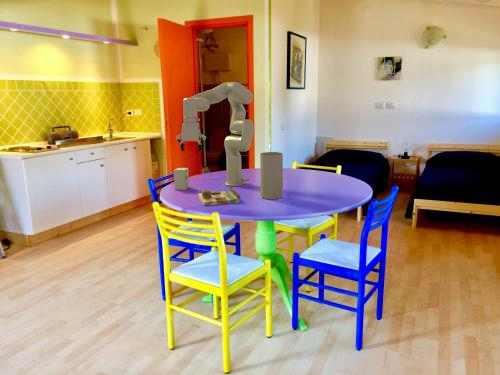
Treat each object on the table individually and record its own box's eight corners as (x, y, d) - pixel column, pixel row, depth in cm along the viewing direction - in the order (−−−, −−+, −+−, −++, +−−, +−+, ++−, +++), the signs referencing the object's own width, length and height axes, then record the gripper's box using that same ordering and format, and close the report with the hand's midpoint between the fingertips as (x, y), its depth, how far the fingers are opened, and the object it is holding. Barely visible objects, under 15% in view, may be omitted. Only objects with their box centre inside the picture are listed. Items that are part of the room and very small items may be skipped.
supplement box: (185, 190, 257) (184, 170, 254) (174, 189, 258) (173, 169, 255) (189, 187, 264) (188, 167, 261) (178, 187, 265) (177, 167, 262)
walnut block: (210, 195, 233) (209, 189, 232) (211, 197, 229) (211, 191, 228) (202, 196, 232) (201, 190, 231) (203, 198, 227) (203, 192, 227)
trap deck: (231, 194, 244) (231, 187, 243) (240, 202, 226) (239, 195, 225) (197, 197, 239) (197, 190, 238) (203, 205, 220) (203, 198, 219)
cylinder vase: (268, 193, 244) (268, 151, 238) (286, 196, 237) (286, 152, 231) (256, 198, 234) (255, 154, 228) (275, 201, 227) (275, 155, 221)
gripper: (207, 120, 233) (207, 150, 236) (177, 120, 235) (178, 150, 238) (203, 121, 225) (204, 152, 229) (173, 120, 228) (174, 151, 231)
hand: (191, 151), depth 234 cm, fingers open, 9 cm apart
